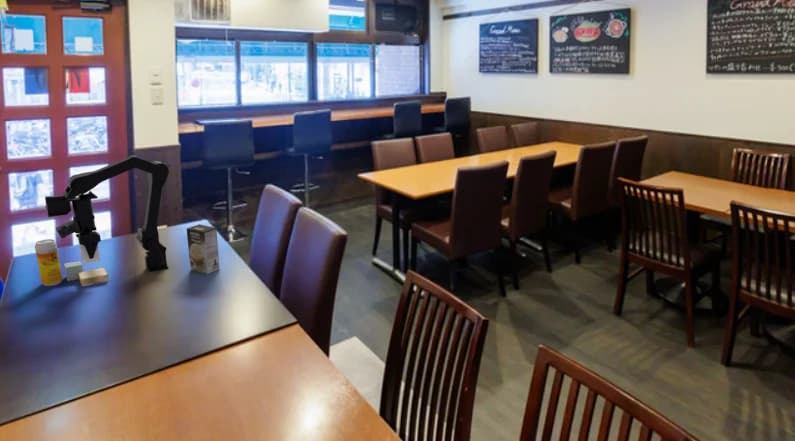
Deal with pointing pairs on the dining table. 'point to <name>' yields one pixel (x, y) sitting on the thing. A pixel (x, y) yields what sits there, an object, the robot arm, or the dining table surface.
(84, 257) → the white block
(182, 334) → the dining table surface
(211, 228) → the coffee box
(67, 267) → the teal grey cube
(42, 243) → the beer can
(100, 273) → the beech slab
